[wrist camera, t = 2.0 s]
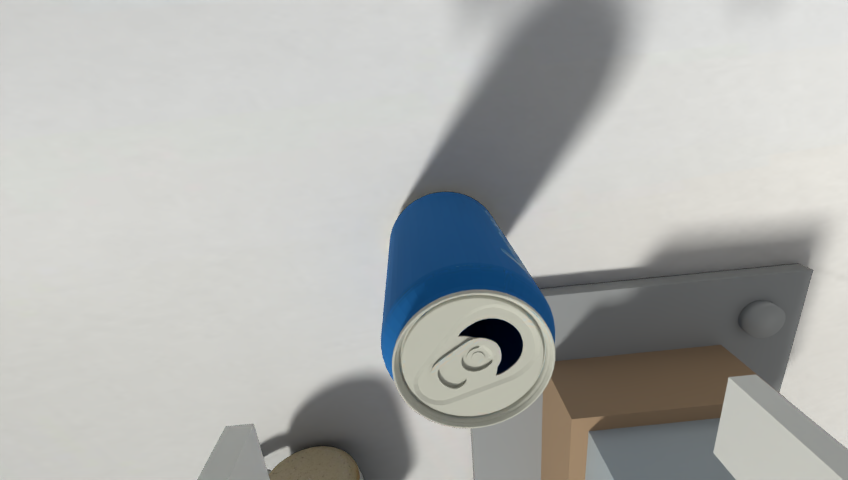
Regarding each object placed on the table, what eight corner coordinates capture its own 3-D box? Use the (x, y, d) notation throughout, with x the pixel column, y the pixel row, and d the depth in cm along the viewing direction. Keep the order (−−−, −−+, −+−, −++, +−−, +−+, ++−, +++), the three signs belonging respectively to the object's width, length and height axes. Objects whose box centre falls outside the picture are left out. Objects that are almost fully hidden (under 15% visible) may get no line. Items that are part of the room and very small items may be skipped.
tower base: (463, 296, 27) (494, 411, 17) (798, 263, 27) (1007, 359, 18) (476, 528, 35) (503, 693, 25) (736, 501, 35) (858, 654, 26)
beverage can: (516, 245, 26) (603, 371, 14) (435, 305, 27) (458, 465, 16) (451, 165, 24) (494, 240, 13) (368, 235, 25) (338, 358, 14)
